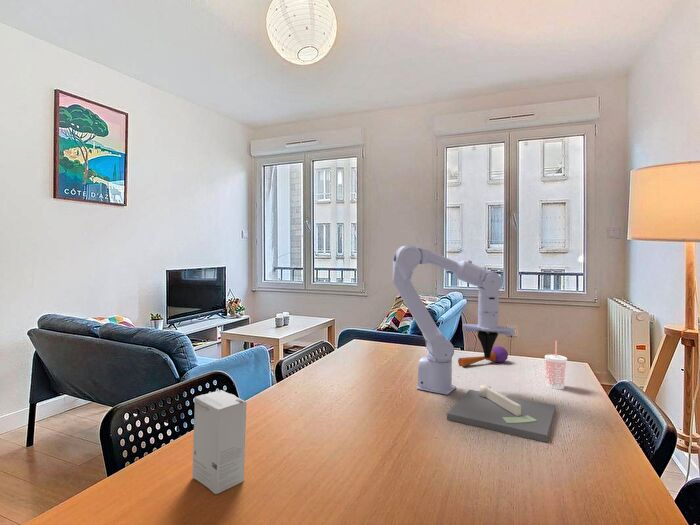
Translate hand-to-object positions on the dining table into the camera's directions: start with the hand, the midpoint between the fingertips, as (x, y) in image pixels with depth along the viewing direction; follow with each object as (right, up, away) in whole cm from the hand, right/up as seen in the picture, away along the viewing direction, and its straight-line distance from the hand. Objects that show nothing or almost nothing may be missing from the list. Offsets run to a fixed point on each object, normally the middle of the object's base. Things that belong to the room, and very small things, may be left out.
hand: (487, 357), depth 121 cm
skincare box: (-64, -11, -48) cm, 81 cm away
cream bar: (-2, -8, -16) cm, 18 cm away
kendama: (+8, -9, +27) cm, 29 cm away
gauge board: (-3, -10, -19) cm, 22 cm away
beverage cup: (+21, -10, +2) cm, 23 cm away
